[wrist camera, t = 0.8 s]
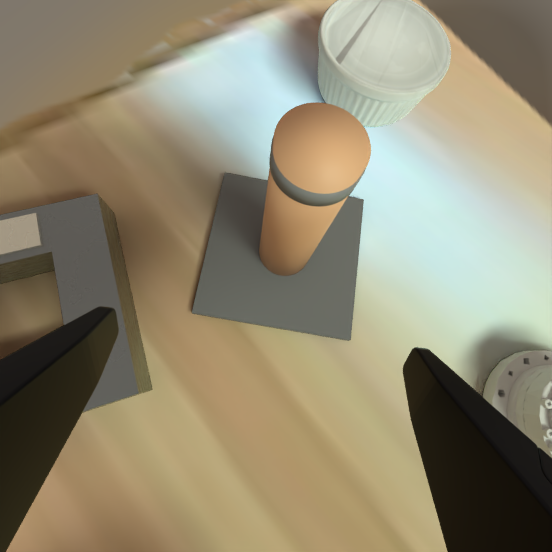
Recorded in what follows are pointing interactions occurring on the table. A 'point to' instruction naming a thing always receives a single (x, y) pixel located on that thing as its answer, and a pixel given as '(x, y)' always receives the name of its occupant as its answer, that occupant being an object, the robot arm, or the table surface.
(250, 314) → the mat
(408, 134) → the table surface
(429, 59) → the ramekin
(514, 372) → the mechanical component
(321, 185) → the peg
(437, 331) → the table surface
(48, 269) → the flange plate
